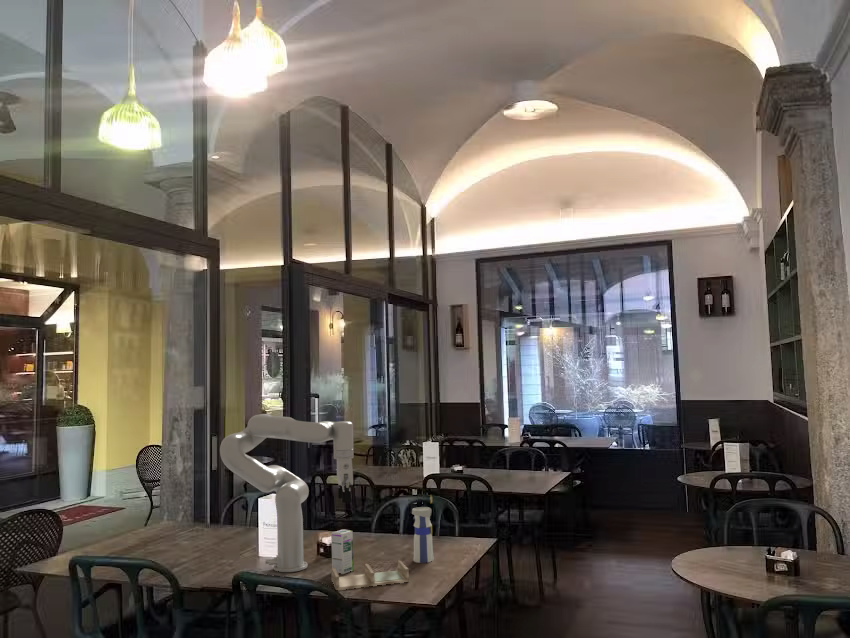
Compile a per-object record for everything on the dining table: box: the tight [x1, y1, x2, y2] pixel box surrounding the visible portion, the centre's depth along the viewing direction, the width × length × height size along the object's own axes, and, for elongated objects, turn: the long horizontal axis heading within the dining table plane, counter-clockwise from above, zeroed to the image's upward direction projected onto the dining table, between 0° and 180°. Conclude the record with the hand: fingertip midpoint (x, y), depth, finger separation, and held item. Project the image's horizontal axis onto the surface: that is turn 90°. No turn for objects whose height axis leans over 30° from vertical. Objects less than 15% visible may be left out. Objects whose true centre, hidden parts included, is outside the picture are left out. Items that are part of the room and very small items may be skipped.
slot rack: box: [330, 559, 410, 591], centre depth 234 cm, size 25×12×4 cm, turn 106°
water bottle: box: [411, 495, 434, 564], centre depth 261 cm, size 8×9×25 cm
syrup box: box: [330, 529, 355, 575], centre depth 248 cm, size 6×6×14 cm
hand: (344, 500), depth 254 cm, fingers open, 9 cm apart
